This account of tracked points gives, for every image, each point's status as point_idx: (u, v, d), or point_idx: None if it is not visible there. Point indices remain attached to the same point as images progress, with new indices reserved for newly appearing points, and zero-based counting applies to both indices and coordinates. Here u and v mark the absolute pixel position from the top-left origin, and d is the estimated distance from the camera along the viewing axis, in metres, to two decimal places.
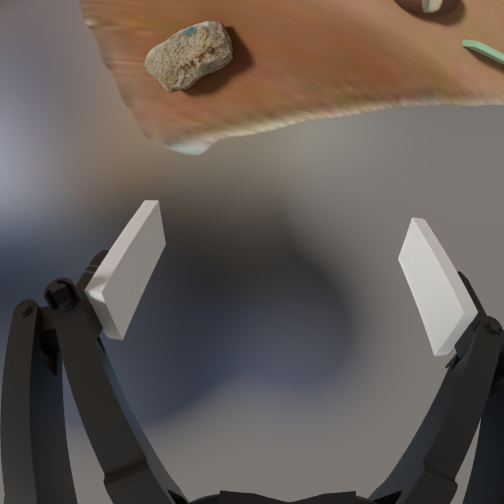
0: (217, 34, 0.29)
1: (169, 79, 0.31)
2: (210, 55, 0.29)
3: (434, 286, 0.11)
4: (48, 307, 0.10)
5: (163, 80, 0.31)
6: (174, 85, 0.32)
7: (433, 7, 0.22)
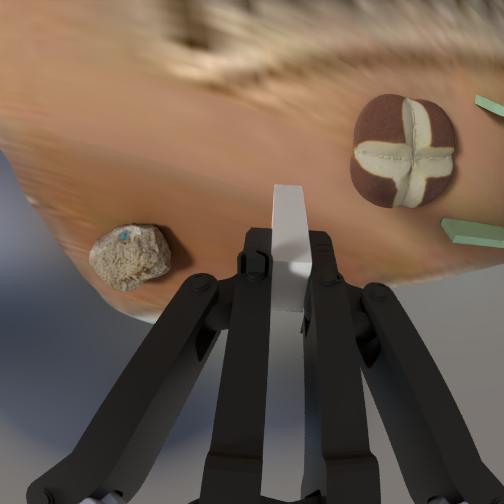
0: (150, 249, 0.33)
1: (114, 286, 0.35)
2: (146, 274, 0.33)
3: None
4: (220, 281, 0.11)
5: (109, 285, 0.35)
6: (120, 290, 0.36)
7: (408, 205, 0.27)
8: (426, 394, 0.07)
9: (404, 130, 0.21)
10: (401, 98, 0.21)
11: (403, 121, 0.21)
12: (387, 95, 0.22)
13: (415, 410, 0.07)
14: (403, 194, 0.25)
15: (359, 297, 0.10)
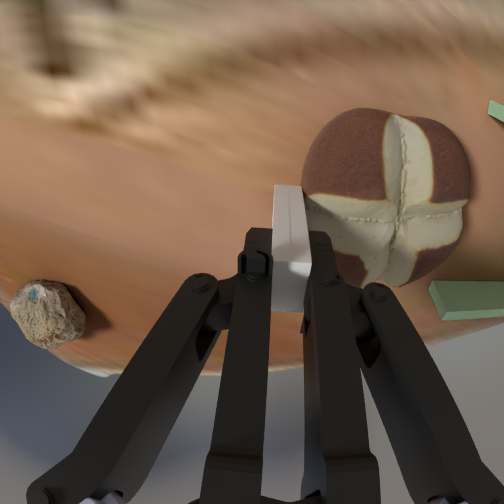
0: (57, 313, 0.24)
1: (35, 343, 0.27)
2: (57, 339, 0.25)
3: None
4: (220, 281, 0.11)
5: (31, 342, 0.27)
6: (42, 347, 0.28)
7: (387, 282, 0.18)
8: (426, 394, 0.07)
9: (385, 175, 0.13)
10: (384, 116, 0.13)
11: (384, 159, 0.13)
12: (359, 110, 0.13)
13: (415, 410, 0.07)
14: (379, 273, 0.17)
15: (359, 297, 0.10)
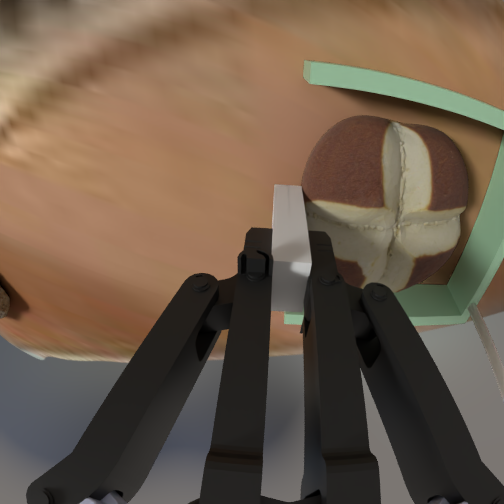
0: None
1: None
2: None
3: None
4: (220, 281, 0.11)
5: None
6: None
7: None
8: (426, 394, 0.07)
9: (384, 183, 0.13)
10: (383, 124, 0.13)
11: (383, 168, 0.13)
12: (359, 118, 0.14)
13: (414, 410, 0.07)
14: (376, 279, 0.17)
15: (359, 297, 0.10)
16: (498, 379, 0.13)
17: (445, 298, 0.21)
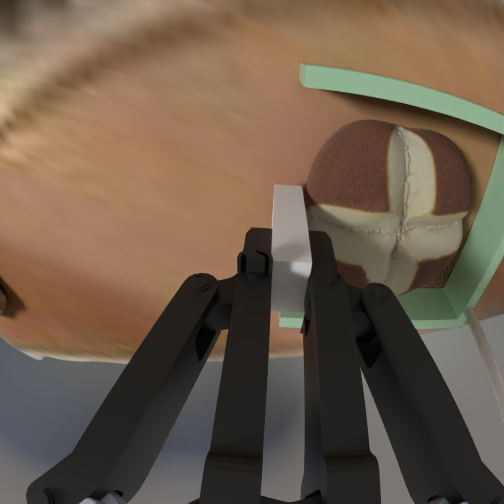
0: None
1: None
2: None
3: None
4: (220, 281, 0.11)
5: None
6: None
7: None
8: (426, 394, 0.07)
9: (389, 188, 0.13)
10: (389, 128, 0.13)
11: (389, 172, 0.13)
12: (365, 122, 0.14)
13: (415, 410, 0.07)
14: (380, 282, 0.17)
15: (359, 297, 0.10)
16: (494, 383, 0.13)
17: (441, 302, 0.21)
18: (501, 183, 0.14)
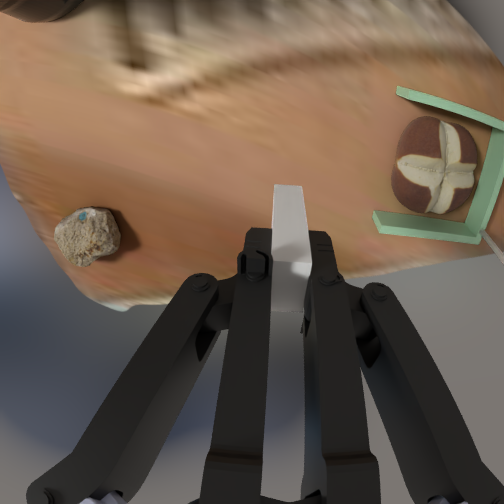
0: (102, 229, 0.36)
1: (72, 260, 0.38)
2: (97, 251, 0.36)
3: None
4: (220, 281, 0.11)
5: (68, 260, 0.38)
6: (77, 264, 0.39)
7: (437, 211, 0.30)
8: (426, 394, 0.07)
9: (440, 147, 0.25)
10: (438, 121, 0.25)
11: (440, 140, 0.24)
12: (427, 117, 0.25)
13: (415, 410, 0.07)
14: (435, 201, 0.28)
15: (359, 297, 0.10)
16: None
17: (465, 228, 0.32)
18: (493, 154, 0.26)
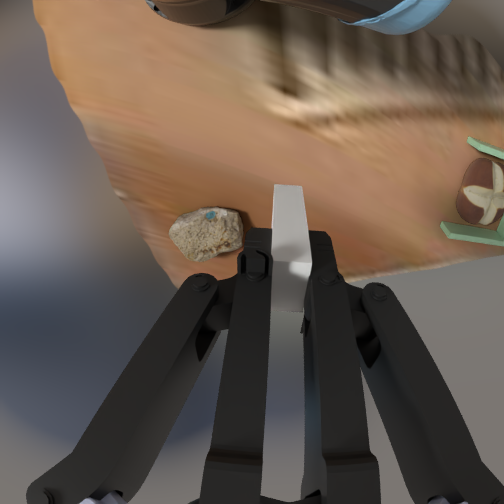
0: (233, 228, 0.44)
1: (190, 255, 0.46)
2: (225, 247, 0.44)
3: None
4: (220, 281, 0.11)
5: (186, 255, 0.46)
6: (194, 259, 0.47)
7: (483, 223, 0.39)
8: (426, 394, 0.07)
9: (493, 182, 0.33)
10: (491, 162, 0.33)
11: (493, 177, 0.33)
12: (484, 159, 0.34)
13: (415, 410, 0.07)
14: (484, 217, 0.37)
15: (359, 297, 0.10)
16: None
17: (497, 235, 0.41)
18: None
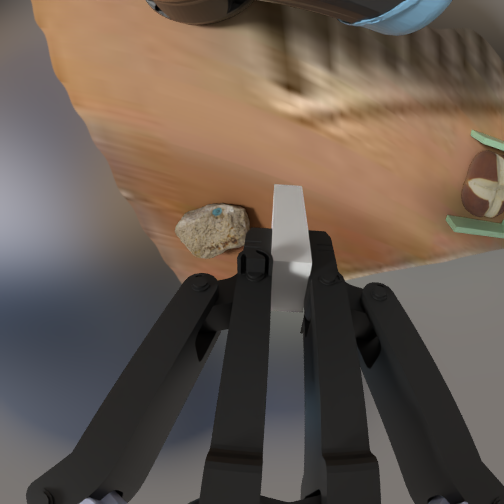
0: (240, 224, 0.44)
1: (197, 252, 0.46)
2: (232, 244, 0.44)
3: None
4: (220, 281, 0.11)
5: (192, 252, 0.46)
6: (201, 256, 0.47)
7: (489, 215, 0.38)
8: (426, 394, 0.07)
9: (497, 174, 0.33)
10: (495, 154, 0.33)
11: (497, 169, 0.32)
12: (488, 152, 0.33)
13: (415, 410, 0.07)
14: (489, 209, 0.36)
15: (359, 297, 0.10)
16: None
17: (502, 228, 0.40)
18: None
